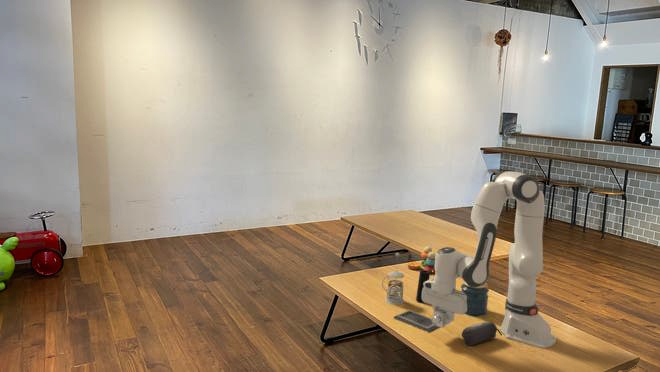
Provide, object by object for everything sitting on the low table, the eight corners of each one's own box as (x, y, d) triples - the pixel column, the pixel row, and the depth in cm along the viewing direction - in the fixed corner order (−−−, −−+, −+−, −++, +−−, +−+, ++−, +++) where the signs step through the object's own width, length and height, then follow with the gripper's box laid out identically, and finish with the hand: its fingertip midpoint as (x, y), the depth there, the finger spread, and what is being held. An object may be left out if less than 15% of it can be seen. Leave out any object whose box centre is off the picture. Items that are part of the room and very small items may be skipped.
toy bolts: (404, 265, 301) (405, 245, 299) (429, 263, 305) (431, 244, 303) (416, 275, 284) (418, 254, 282) (443, 273, 288) (445, 253, 286)
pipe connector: (430, 297, 253) (434, 269, 251) (437, 300, 248) (441, 272, 246) (413, 299, 246) (417, 270, 245) (420, 302, 242) (425, 273, 240)
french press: (404, 305, 239) (407, 256, 235) (380, 303, 241) (383, 254, 237) (405, 298, 248) (408, 251, 244) (382, 295, 250) (384, 248, 246)
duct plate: (442, 326, 218) (442, 322, 218) (428, 333, 210) (428, 329, 210) (408, 312, 231) (408, 308, 231) (393, 318, 224) (393, 315, 223)
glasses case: (484, 333, 213) (485, 316, 211) (504, 343, 204) (506, 325, 203) (455, 342, 203) (456, 325, 202) (474, 353, 194) (476, 335, 193)
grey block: (454, 320, 208) (454, 306, 207) (439, 329, 199) (440, 315, 198) (444, 317, 211) (445, 303, 210) (429, 326, 202) (430, 312, 201)
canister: (456, 312, 233) (459, 277, 230) (462, 303, 244) (465, 269, 241) (484, 319, 227) (487, 283, 224) (489, 309, 238) (492, 274, 235)
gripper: (471, 291, 198) (469, 323, 200) (428, 278, 212) (427, 308, 214) (463, 295, 194) (461, 327, 196) (420, 281, 208) (418, 312, 210)
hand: (443, 317), depth 205 cm, fingers closed on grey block, 5 cm apart
